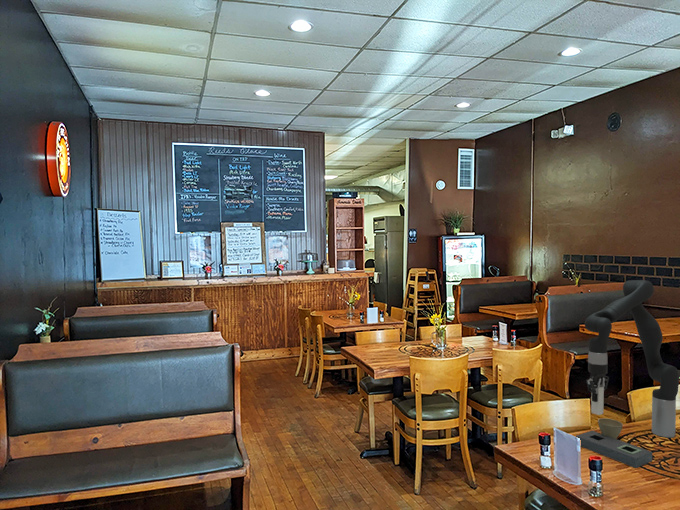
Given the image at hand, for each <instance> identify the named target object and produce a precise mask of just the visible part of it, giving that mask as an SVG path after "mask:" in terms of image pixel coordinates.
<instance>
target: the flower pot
mask: <svg viewBox="0 0 680 510" xmlns="http://www.w3.org/2000/svg"><path fill="white" fill-rule="evenodd" d="M597 424H598V428H599V430H600V433H601V434H603V435H606V436H609V437H612V438H615V439H617V438H618V437H619V436H620V435H621V433H622V430H623V423H622V422H620V421H619V420H616V419H613V418H603V417H601V418H598V419H597Z"/></svg>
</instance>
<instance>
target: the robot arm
mask: <svg viewBox="0 0 680 510" xmlns="http://www.w3.org/2000/svg"><path fill="white" fill-rule="evenodd" d="M654 290H655V289H654V286H653V283H652V282H651V281H649V280H646V279H645V280H644V279H636V280H635V279H631V280H630V279H629V280H626V281H625V282H624V283H623V285H622V292H623V295H624V297H620V298H618V299H616V300H613V301H611V302H610V303H609V304H607V306H605V307H604V308H603V309H601V310H599V311H596V312H594V313H592V314H590V315H589V316H588V317H586V319H585V321H584V328H585V329H586V330H587V331H589V332H590V333H591V332H592V333H596V334H597V333H598V335H597V336H596V337H590V338H589V340H588V357H587V369H588V370H587V371H588V372H589V374H590V376H589V379H586V380H585V382H586V383H585V384H586V387H587V392H590V393H591V397H592V401H594V402H597V401H598V394H597V393H598V388H599V387H600V386H602V387H604V391H606V390H607V389H608V386H609V385H608V384H609V380H610V377H609V376H607V374H608V361H609V360H608V358H609V357H608V341H609V339H610V335H611V332H612V329H613V326H612V324H613V323H615V322H616V321H618V320H619V319H620V318H621V317H622V316H624V315H625V314H626V313H627V312H629V311H630V312H631V315H632V318H633V321H634V322H635V327H636V331H637V333H638V337H639V339H640V343H641V346H642V349H643V353H644V357H645V361H646V367H647V372H648V374H649V377H650V378H651V379H652V380H653V381H654V382H655V381H656V382H657V383H659V384H660V385H659V388H656V389H653V390H652V393H651V396H652V398H651V401H652V403H651V433H652V434H654V435H656V436H659V437H664V438H675V437H676V423H677V422H676V420H677V418H676V416H677V415H676V413H677V410H676V409H677V408H676V406H677V402H676V401H677V396H678V393H679V383H680V374H679V370H678V369H677V367H676V366H674V365H671V364H669V363H668V364H667V363H664V361H663V360H662V357H661V351H660V349H661V345H662V344H663V332H662V328H661V327H660V326H661V325H660V324H659V322H658V321H657V319H656V318H655V317H654V316H653V315H652V314H651V313H650V312H649V311H648V310H647V309H646V308H645V307H644V305H643V303H644V302H646V301H647V300H650V299H651V298H652V296H653V295H654ZM594 385H597V386H594Z"/></svg>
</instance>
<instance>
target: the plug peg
mask: <svg viewBox="0 0 680 510" xmlns="http://www.w3.org/2000/svg"><path fill="white" fill-rule="evenodd" d="M594 386H597V385H594ZM604 387H605V386H604ZM604 387H602V386H600V387H599V388H598V393H597V394H598V401H597V402H594V401H592V396H591V397H590V401H591V403H590V404H591V405H590V406H591V408H590V409H591V411H590V412H591V414H594V415H597V416H601V415H603V414H604V397H605V396H604V395H605V394H604V392H605V390H604Z"/></svg>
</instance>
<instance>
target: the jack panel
mask: <svg viewBox="0 0 680 510" xmlns="http://www.w3.org/2000/svg"><path fill="white" fill-rule="evenodd" d="M576 437H578V438H580V440H581V446H580V447H581V448H584V449H586V450H589V451H591V452H594V453H597V454H599V455H601V456H604V457H606V458H609V459H612V460H614V461H616V462H620V463H622V464H624V465H626V466H629V467H631V468H634V469H637V468H640V467H642V466H645V465H647V464H649V463H652V462H653V451H651V450H648V449H645V448H643V447H640V446H636V445H634V444H631V443H628V442H626V441H623V440H620V439H617V438H616V439H615V438H612V437H609V436H606V435H603V434H602V433H601V432H597V431H596V430H589V431H587V432H583V433H581V434H576V435H575V438H576Z"/></svg>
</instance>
